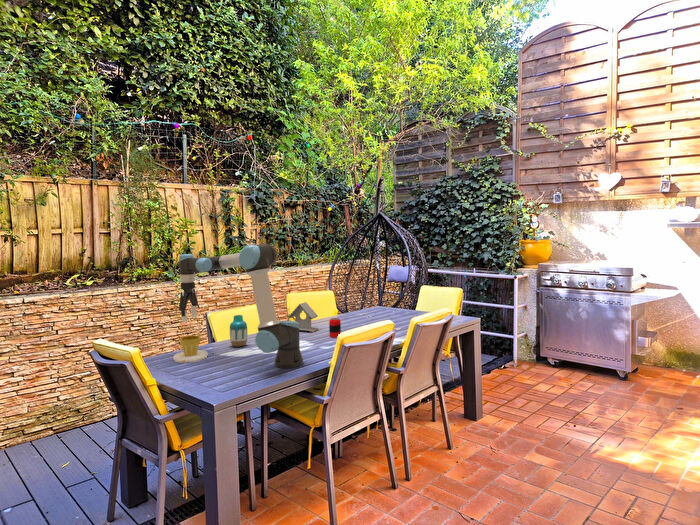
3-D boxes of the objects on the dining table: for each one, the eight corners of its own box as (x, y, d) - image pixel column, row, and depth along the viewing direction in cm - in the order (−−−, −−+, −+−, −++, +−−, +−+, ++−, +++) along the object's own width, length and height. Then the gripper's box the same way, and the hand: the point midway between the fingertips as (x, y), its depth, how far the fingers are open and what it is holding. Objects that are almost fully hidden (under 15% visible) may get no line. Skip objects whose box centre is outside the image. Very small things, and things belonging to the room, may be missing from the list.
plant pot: (194, 357, 237) (193, 340, 236) (177, 356, 239) (176, 339, 238) (204, 352, 247) (203, 335, 246) (187, 351, 249) (187, 335, 248)
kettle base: (200, 362, 234) (200, 359, 233) (167, 362, 234) (167, 359, 234) (212, 353, 252) (212, 350, 251) (182, 353, 252) (181, 350, 252)
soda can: (340, 335, 291) (340, 317, 291) (340, 337, 284) (340, 319, 283) (329, 335, 291) (329, 317, 290) (329, 338, 284) (329, 320, 283)
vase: (226, 347, 264) (225, 316, 262) (236, 343, 274) (235, 313, 272) (241, 349, 260) (240, 317, 259) (251, 344, 270) (250, 314, 269)
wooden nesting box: (318, 330, 307) (317, 302, 306) (311, 333, 299) (311, 304, 297) (295, 328, 314) (294, 301, 313) (288, 331, 306) (288, 303, 304)
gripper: (190, 279, 253) (192, 315, 254) (170, 284, 228) (172, 324, 229) (202, 279, 252) (204, 315, 254) (184, 284, 227) (186, 324, 229)
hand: (189, 319), depth 241 cm, fingers open, 13 cm apart
